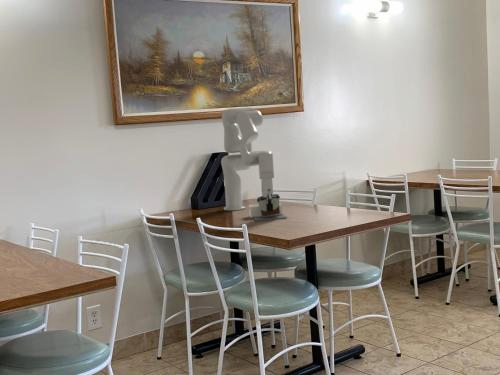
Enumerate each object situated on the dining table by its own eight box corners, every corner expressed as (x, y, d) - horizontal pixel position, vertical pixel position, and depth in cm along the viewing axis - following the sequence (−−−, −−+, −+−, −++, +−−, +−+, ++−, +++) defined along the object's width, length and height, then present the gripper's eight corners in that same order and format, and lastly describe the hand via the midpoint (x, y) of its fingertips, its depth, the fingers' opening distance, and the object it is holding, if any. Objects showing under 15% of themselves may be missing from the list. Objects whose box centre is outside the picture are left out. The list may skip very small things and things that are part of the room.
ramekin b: (265, 214, 341) (264, 203, 340) (279, 213, 342) (279, 202, 341) (267, 217, 333) (266, 205, 332) (282, 215, 334) (281, 204, 333)
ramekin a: (249, 216, 340) (248, 205, 339) (264, 214, 341) (263, 203, 340) (251, 218, 332) (250, 207, 332) (266, 217, 333) (265, 205, 332)
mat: (252, 217, 334) (252, 216, 334) (282, 215, 336) (282, 213, 336) (255, 221, 322) (255, 220, 322) (286, 218, 324) (286, 217, 324)
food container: (280, 211, 333) (278, 192, 332) (282, 213, 327) (279, 194, 326) (257, 215, 332) (254, 197, 331) (259, 217, 326) (256, 198, 325)
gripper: (257, 175, 335) (259, 209, 336) (261, 177, 318) (264, 213, 320) (271, 173, 335) (273, 207, 337) (276, 176, 319) (279, 212, 320)
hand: (269, 210), depth 328 cm, fingers closed on food container, 5 cm apart
